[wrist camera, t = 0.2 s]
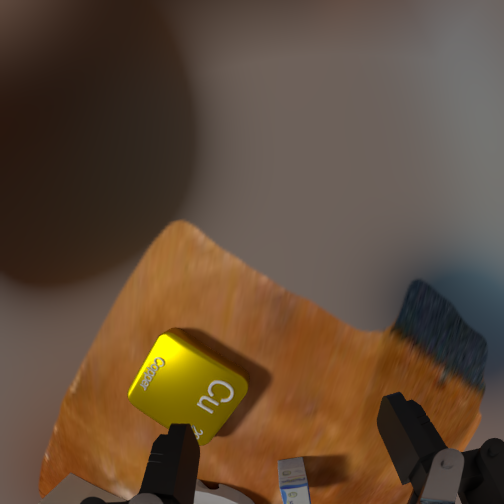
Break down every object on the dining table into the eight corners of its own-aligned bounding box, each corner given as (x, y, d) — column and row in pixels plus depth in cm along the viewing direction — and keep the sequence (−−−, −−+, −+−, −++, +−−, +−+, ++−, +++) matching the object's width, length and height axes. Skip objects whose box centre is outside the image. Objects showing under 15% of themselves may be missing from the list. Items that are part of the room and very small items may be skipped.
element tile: (172, 321, 42) (162, 326, 37) (255, 373, 41) (254, 385, 36) (133, 389, 41) (121, 400, 36) (207, 437, 40) (202, 452, 35)
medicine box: (306, 483, 38) (312, 512, 30) (282, 487, 38) (285, 517, 30) (302, 455, 39) (309, 485, 30) (276, 460, 39) (279, 490, 30)
